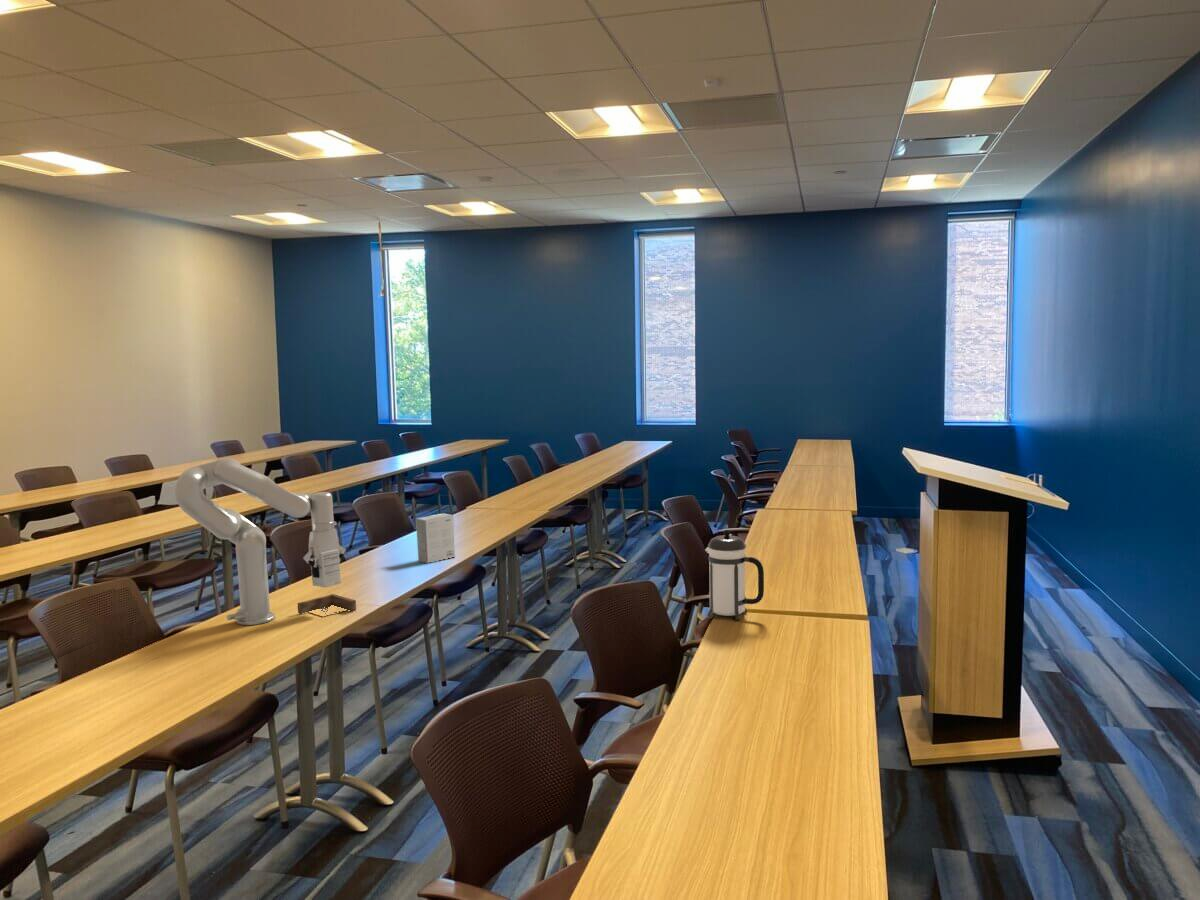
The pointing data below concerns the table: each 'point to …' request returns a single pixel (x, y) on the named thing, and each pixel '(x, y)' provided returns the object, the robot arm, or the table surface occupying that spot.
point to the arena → (326, 603)
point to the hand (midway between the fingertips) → (326, 574)
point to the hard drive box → (435, 537)
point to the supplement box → (327, 569)
